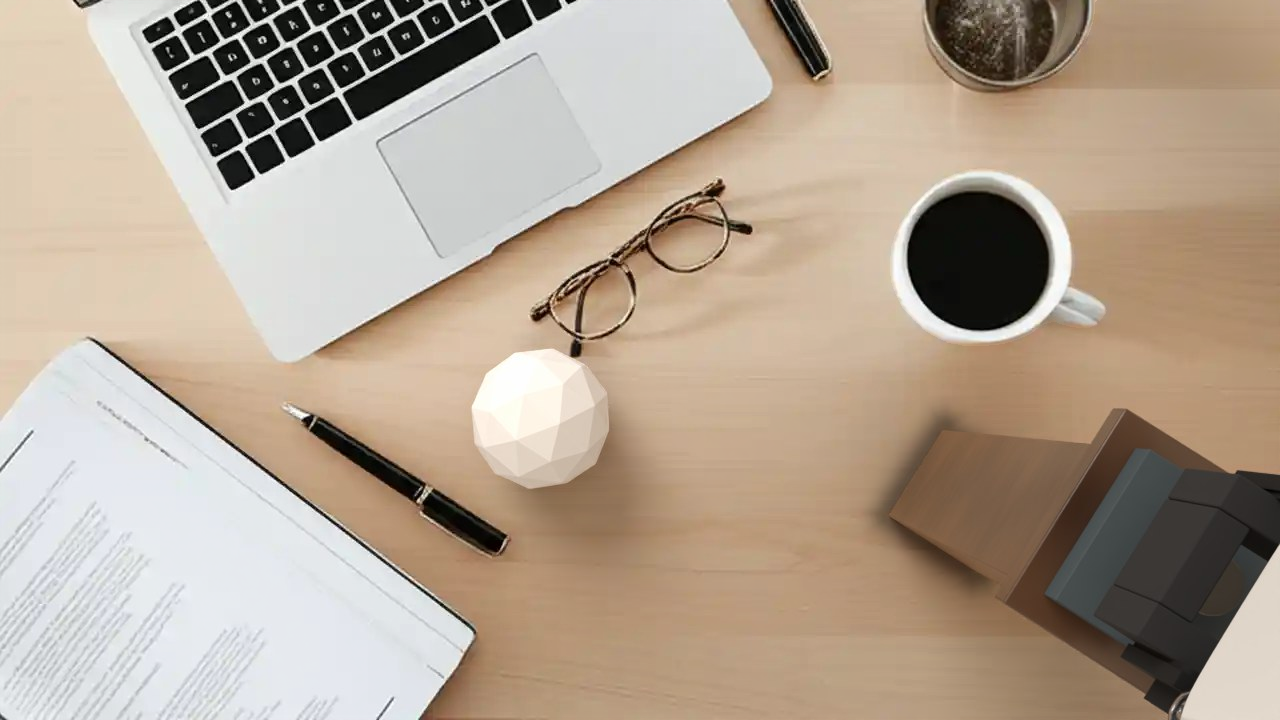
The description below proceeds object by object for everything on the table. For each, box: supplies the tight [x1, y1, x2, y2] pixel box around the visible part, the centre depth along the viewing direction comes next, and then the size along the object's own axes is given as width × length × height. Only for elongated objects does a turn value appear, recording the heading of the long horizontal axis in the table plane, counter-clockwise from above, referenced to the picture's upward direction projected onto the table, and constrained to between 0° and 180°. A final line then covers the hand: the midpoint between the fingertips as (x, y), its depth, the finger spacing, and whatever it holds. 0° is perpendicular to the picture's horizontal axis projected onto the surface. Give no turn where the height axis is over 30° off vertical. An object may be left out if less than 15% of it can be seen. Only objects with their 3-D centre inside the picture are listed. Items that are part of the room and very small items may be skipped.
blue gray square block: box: [1044, 448, 1268, 647], centre depth 38 cm, size 6×6×4 cm
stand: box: [888, 407, 1229, 695], centre depth 54 cm, size 8×8×28 cm
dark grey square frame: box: [1094, 468, 1280, 673], centre depth 34 cm, size 6×6×3 cm
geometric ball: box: [471, 347, 610, 490], centre depth 65 cm, size 8×8×8 cm
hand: (1221, 591), depth 35 cm, fingers closed on dark grey square frame, 5 cm apart
